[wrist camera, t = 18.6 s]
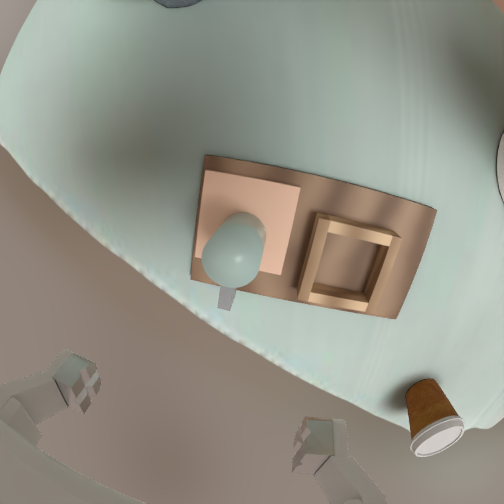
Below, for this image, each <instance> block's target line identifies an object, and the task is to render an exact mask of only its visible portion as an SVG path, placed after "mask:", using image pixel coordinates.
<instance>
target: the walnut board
mask: <svg viewBox="0 0 504 504" xmlns="http://www.w3.org/2000/svg"><path fill="white" fill-rule="evenodd" d="M207 169H208V170H214V171H220V172H226V173H232V174H238V175H244V176H249V177H255V178H260V179H265V180H270V181H275V182H280V183H285V184H290V185H295V186H299V187H300V193H299V198H298V202H297V207H296V211H295V216H294V220H293V225H292V229H291V234H290V238H289V242H288V247H287V251H286V255H285V259H284V264H283V268H282V272H281V275H278V274H273V273H268V272H263V271H258V273H257V275H256V277H255V278H254V279H253V280H252V281H251V282H250V283H248V284H247V285H245V286H242V287H238V288H237V289H236V290H240V291H244V292H249V293H254V294H259V295H263V296H268V297H273V298H278V299H283V300H288V301H293V302H299V303H304V304H309V305H314V306H320V307H325V308H331V309H336V310H342V311H348V312H354V313H360V314H366V315H372V316H378V317H384V318H390V319H396V318H397V316H398V314H399V312H400V310H401V307H402V305H403V303H404V301H405V298H406V296H407V294H408V291H409V289H410V286H411V284H412V281H413V279H414V276H415V274H416V271H417V269H418V266H419V264H420V261H421V258H422V255H423V253H424V250H425V247H426V244H427V241H428V238H429V235H430V232H431V229H432V226H433V222H434V219H435V216H436V212H437V210H436V209H434V208H431V207H428V206H425V205H422V204H419V203H416V202H413V201H410V200H406V199H403V198H400V197H397V196H393V195H390V194H387V193H383V192H380V191H376V190H373V189H369V188H366V187H362V186H358V185H354V184H351V183H347V182H343V181H339V180H335V179H331V178H327V177H322V176H318V175H314V174H309V173H305V172H300V171H296V170H291V169H286V168H281V167H276V166H271V165H266V164H261V163H255V162H250V161H244V160H238V159H232V158H226V157H219V156H212V155H205V158H204V165H203V172H202V179H201V187H200V194H199V202H198V210H197V219H196V228H195V237H194V247H193V257H192V267H191V280H195V281H199V282H204V283H208V284H212V285H217V286H221V285H219V284H217V283H215V282H214V281H212V280H211V279H210V278H209V277H208V275H207V274H206V272H205V271H204V268H203V266H202V259H201V258H197V257H195V250H196V241H197V232H198V223H199V214H200V206H201V198H202V191H203V183H204V176H205V170H207Z"/></svg>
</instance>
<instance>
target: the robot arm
mask: <svg viewBox="0 0 504 504" xmlns="http://www.w3.org/2000/svg"><path fill="white" fill-rule="evenodd" d="M497 176H498V184H499V189H500V193H501V196H502V199H503V201H504V133H503V135H502V138H501V141H500V144H499V149H498V156H497ZM96 370H97V366H96V363H94V362H92V361H90V360H87V359H85V358H83V357H81V356H79V355H77V354H75V353H73V352H71V351H68V350H63V351H61V353H60V354H59V355H58V356H57V357H56V358H55V359H54V361H53V362H52V363H51V364H50V365H49V366H48V368H47V369H46V370H45V371H44V372H43V373H42V372H38V373H35V374H33V375H29V376H27V377H24V378H21V379H18V380H15V381H12V382H9V383H6V384H3V385H0V504H147V503H145V502H142V501H139V500H137V499H134V498H131V497H129V496H127V495H124V494H122V493H119V492H117V491H115V490H113V489H111V488H108V487H106V486H104V485H102V484H100V483H98V482H96V481H94V480H92V479H90V478H88V477H86V476H84V475H82V474H80V473H78V472H77V471H75V470H73V469H71V468H69V467H68V466H66V465H64V464H63V463H61V462H60V461H58V460H56V459H55V458H53V457H52V456H50V455H48V454H47V453H45V452H44V451H42V450H41V449H39V448H38V447H36V445H37V443H38V441H39V440H40V439H41V437H42V433H41V431H40V430H39V429H38V427H37V426H36V425H37V424H39V423H41V422H42V421H44V420H46V419H48V418H50V417H52V416H54V415H55V414H57V413H59V412H61V411H63V410H65V409H66V408H68V407H70V408H72V409H74V410H76V411H78V412H80V413H82V414H85V412H86V411H87V409H88V407H89V406H90V404H91V398H92V397H95V396H96V395H97V394H98V392H99V390H100V386H101V378H100V376H99V374H98V373H97V372H96ZM293 449H294V450H295V452H296V454H295V456H294V457H293V461H292V473H299V474H310V475H313V476H314V478H315V480H316V481H317V483H318V485H319V486H320V488H321V490H322V491H323V493H324V495H325V496H326V498H327V500H328V501H329V503H330V504H387V503H386V496H385V494H384V493H383V492H382V491H381V490H380V489H379V488H378V486H377V485H376V484H375V483H374V482H373V480H372V479H371V478H370V477H369V476H368V474H367V473H366V472H365V471H364V470H363V468H362V467H361V466H360V465H359V464H358V462H357V461H356V460H355V459H354V457H352V456H349V450H348V438H347V428H346V422H345V420H341V419H330V418H315V417H304V418H303V420H302V426H301V427H299V428H298V429H297V432H296V435H295V438H294V447H293Z"/></svg>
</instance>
